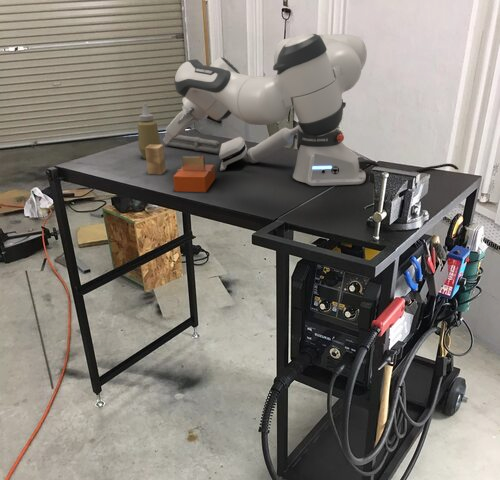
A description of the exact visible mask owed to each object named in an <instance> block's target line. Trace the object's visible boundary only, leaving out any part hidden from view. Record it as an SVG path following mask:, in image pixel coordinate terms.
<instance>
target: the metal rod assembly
mask: <svg viewBox="0 0 500 480" xmlns="http://www.w3.org/2000/svg"><path fill="white" fill-rule="evenodd" d="M166 134H167V132H165V133H164V134H163V135H164V137H165V136H166ZM164 137H163V138H164ZM164 144H165V146H168V147H173V148H180V149H187V150H191V151H195V152H205V153H211V154H215V155H217V154H218V155H219V153H220V148H219V146H220V141H218V140H214V139H207V138H202V137H199V136H189V135H182V134H179V135H178V136H176V137H175V138H172V139H171V140H170V141H169V143H167V144H166V143H165V142H164Z"/></svg>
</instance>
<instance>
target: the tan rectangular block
mask: <svg viewBox="0 0 500 480" xmlns="http://www.w3.org/2000/svg"><path fill="white" fill-rule="evenodd" d="M181 160H182V167H183V171H205V165H206V160H205V155H203V154H202V155H201V154H200V155H183V156H181Z"/></svg>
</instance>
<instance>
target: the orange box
mask: <svg viewBox="0 0 500 480" xmlns="http://www.w3.org/2000/svg"><path fill="white" fill-rule="evenodd" d="M215 170H216V169H215V164H205V171H183V166H181V168H180V169H179V168H178V169H176V173H175V174H174V175H173V177H172V178H173V187H174V192H179V193H180V192H183V193H184V192H186V193H191V192H192V193H206V192H207V191H208V190H209V189H210V187H211V186H212V184H213V183H214V181H216V171H215Z"/></svg>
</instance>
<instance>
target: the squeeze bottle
mask: <svg viewBox="0 0 500 480" xmlns="http://www.w3.org/2000/svg"><path fill="white" fill-rule="evenodd" d="M141 112H142V113H141V114H140V115H139V121H138V123H137V138H138V150H139V152H140V154H141V156H142V158H143V159H145V160H146V153H145V147H147V146H148V145H150V144H154V145H162V142H161V138H160V133H159V128H158V123H157V121H156V120H154V115H153V114H152V113H150V110H149V108H148V105H147V103H143V104H142V111H141Z"/></svg>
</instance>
